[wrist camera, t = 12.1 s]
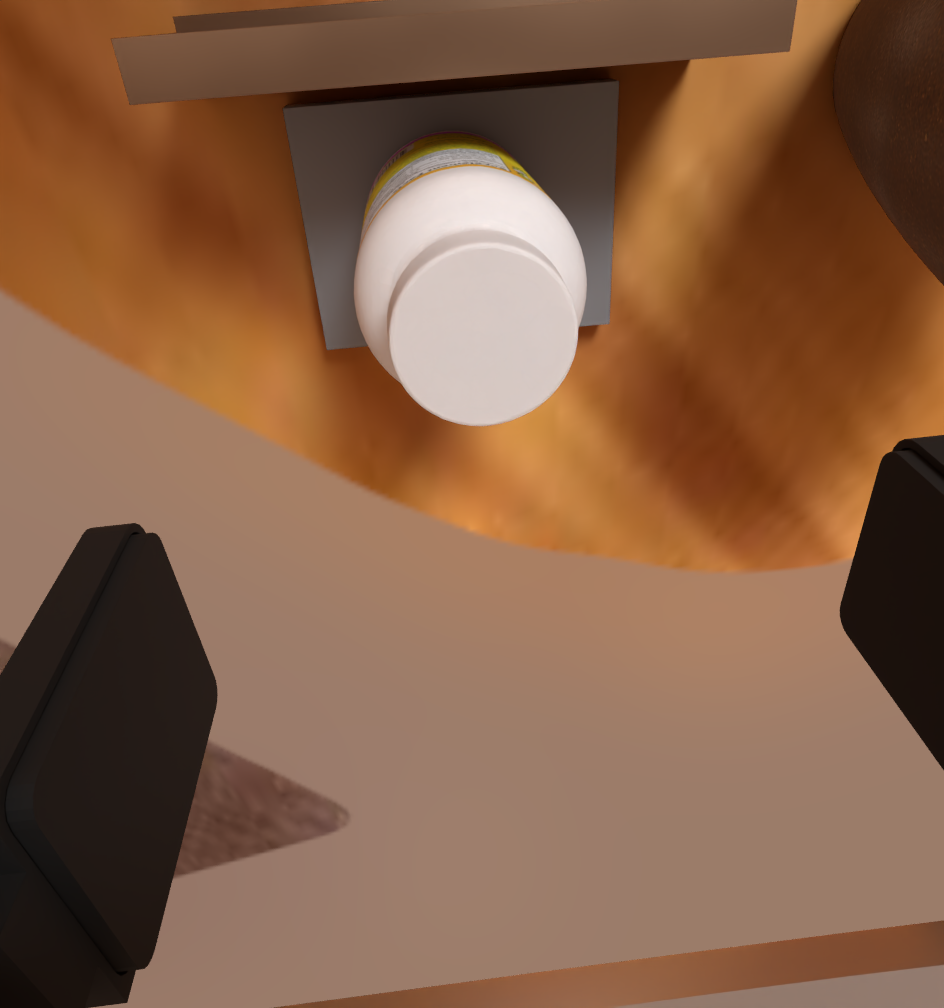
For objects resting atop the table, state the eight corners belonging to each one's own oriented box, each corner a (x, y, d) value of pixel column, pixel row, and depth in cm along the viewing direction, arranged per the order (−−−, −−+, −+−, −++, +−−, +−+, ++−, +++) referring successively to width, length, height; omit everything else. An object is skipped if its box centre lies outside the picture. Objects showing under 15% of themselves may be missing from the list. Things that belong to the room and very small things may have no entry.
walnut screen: (181, 16, 25) (105, 17, 19) (699, -24, 26) (802, -37, 19) (200, 96, 27) (135, 123, 20) (691, 56, 27) (786, 70, 21)
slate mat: (286, 104, 27) (282, 108, 26) (611, 78, 27) (619, 81, 26) (329, 339, 32) (326, 349, 31) (603, 314, 32) (609, 323, 31)
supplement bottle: (537, 298, 31) (613, 451, 20) (378, 313, 30) (367, 475, 20) (535, 117, 27) (625, 186, 16) (352, 133, 27) (322, 212, 16)
